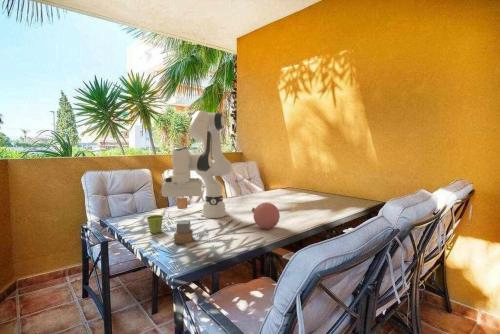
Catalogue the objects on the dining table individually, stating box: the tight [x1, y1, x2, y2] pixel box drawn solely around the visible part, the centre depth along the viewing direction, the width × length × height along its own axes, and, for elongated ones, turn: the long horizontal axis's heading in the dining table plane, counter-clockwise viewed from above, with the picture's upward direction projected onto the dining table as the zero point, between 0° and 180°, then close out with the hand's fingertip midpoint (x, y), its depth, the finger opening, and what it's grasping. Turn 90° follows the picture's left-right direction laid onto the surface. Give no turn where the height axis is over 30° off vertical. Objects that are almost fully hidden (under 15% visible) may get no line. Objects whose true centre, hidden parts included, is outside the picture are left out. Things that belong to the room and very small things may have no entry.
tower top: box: [176, 220, 191, 234], centre depth 151 cm, size 6×6×5 cm
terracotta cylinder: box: [176, 197, 188, 210], centre depth 150 cm, size 5×5×5 cm
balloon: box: [251, 202, 281, 230], centre depth 173 cm, size 15×20×15 cm
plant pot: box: [146, 214, 164, 234], centre depth 167 cm, size 9×9×9 cm
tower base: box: [173, 228, 194, 244], centre depth 152 cm, size 8×8×5 cm
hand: (182, 204), depth 150 cm, fingers closed on terracotta cylinder, 5 cm apart
